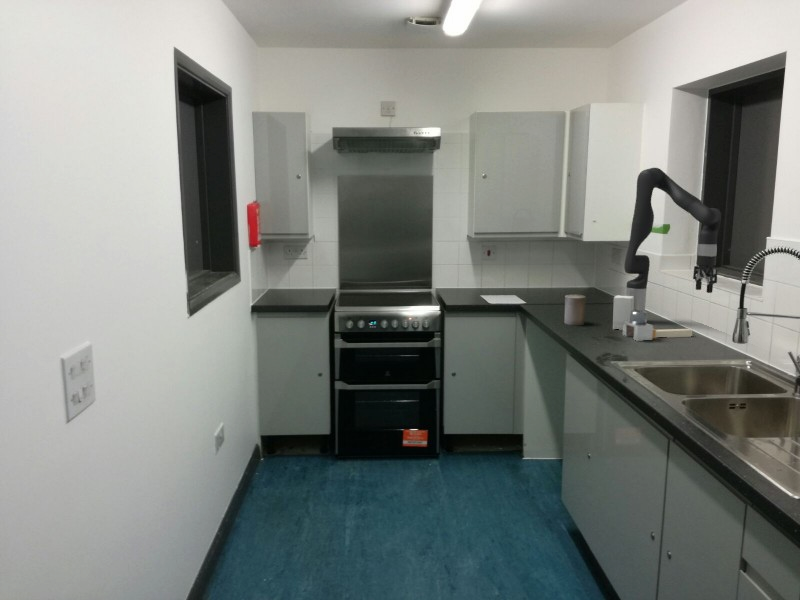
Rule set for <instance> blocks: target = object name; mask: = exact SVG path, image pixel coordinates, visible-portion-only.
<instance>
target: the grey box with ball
mask: <svg viewBox="0 0 800 600" xmlns="http://www.w3.org/2000/svg"><path fill="white" fill-rule="evenodd" d="M647 321H648V311H646V310H645V311H641V310H632V311H630V320H623V330H622V336H624V335H625V336H624V337H633V339H634V340H633V341H635V340H636V342H644V341H643V340H652V341H653V338H652V334H653V329H654V325H653V324H650V323H647Z"/></svg>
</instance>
